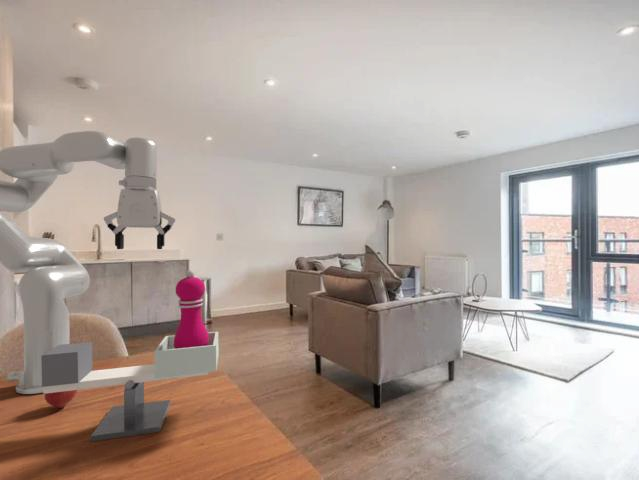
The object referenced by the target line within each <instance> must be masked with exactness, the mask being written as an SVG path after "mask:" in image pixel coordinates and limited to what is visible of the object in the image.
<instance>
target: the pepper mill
mask: <svg viewBox="0 0 639 480" xmlns="http://www.w3.org/2000/svg"><path fill="white" fill-rule="evenodd" d="M194 276H195V271H194V270H192V269H188V270H187V271H186V272H185V277H184V278H182V279H180V280H179V281H178V282H177V284H176V286H175V295H176V296H177V297H178V298H179V300H178V308H180V321H179V324H178V328H177V330H176V332H175V334H174V335H175V338H174V348H175V349H178V348H188V347H199V346H207V345H208V343H209V336H208V330H207V328H206V326H205V324H204V321H203V317H202V311H201V310H202V306H203V305H204V303H203V301H204V299H203V298H202V297H203V295H204V294H205V291H206V290H205V289H206V287H205V283H204V281H203V280H202V279H200V278H198V277H194Z"/></svg>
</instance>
